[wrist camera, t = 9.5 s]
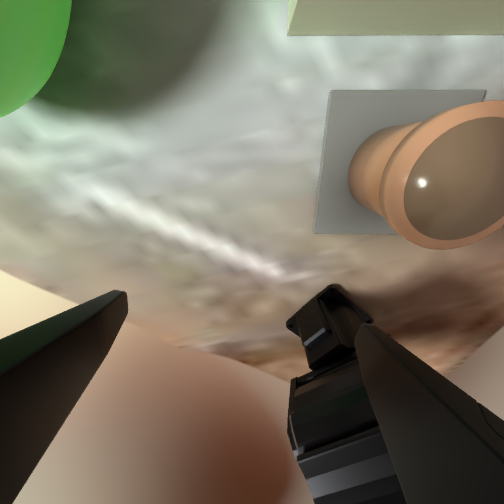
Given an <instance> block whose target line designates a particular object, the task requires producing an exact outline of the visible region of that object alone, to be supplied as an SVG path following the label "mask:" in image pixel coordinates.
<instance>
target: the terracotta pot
mask: <svg viewBox="0 0 504 504" xmlns="http://www.w3.org/2000/svg"><path fill="white" fill-rule="evenodd" d="M348 185H349V189H350V192H351V194H352V196H353V197H354V199H355V200H356V201H357V202H358V203H359V204H360V205H362V206H363V207H365V208H367V209H369V210H371V211H372V212H374V213H376V214H378V215H380V216H382V217H383V218H384V219H385V221H386V222H387V224H388V225H389V226H390V227H391V228H392V229H393V230H394V231H395V232H396V233H398V234H399V235H401V236H403V237H404V238H406V239H407V240H409V241H411V242H412V243H414V244H416V245H419V246H421V247H425V248H429V249H436V250H445V249H454V248H459V247H463V246H466V245H469V244H472V243H474V242H476V241H479V240H481V239H483V238H485V237H487V236H488V235H490V234H491V233H493V232H495V231H496V230H498V229H499V228H500V227H501V226H503V225H504V101H492V100H491V101H484V102H477V103H472V104H467V105H462V106H457V107H453V108H450V109H446V110H444V111H441V112H439V113H437V114H435V115H433V116H431V117H429V118H427V119H426V120H425V121H421V122H414V123H408V124H401V125H394V126H389V127H386V128H383V129H381V130H379V131H377V132H375V133H374V134H372V135H371V136H369V137H368V138H367V139H366V140H365V141H364V142H363V143H362V144H361V145H360V146H359V148H358V149H357V151H356V152H355V154H354V156H353V158H352V160H351V163H350V166H349V171H348Z"/></svg>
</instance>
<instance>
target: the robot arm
mask: <svg viewBox="0 0 504 504" xmlns="http://www.w3.org/2000/svg"><path fill="white" fill-rule="evenodd" d="M330 290H333V291H332V292H329V291H330ZM127 314H128V301H127V293H126V292H125V291H119V290H113V291H110V292H108V293H106V294H103V295H101V296H99V297H97V298H94V299H92V300H90V301H87V302H85V303H83V304H80V305H78V306H76V307H74V308H71V309H69V310H67V311H64V312H62V313H60V314H57V315H55V316H53V317H51V318H48V319H46V320H44V321H41V322H39V323H37V324H35V325H32V326H30V327H27V328H25V329H23V330H21V331H18V332H16V333H14V334H11V335H9V336H7V337H4V338H2V339H0V504H12V503H13V502H14V500H15V499H16V497H17V495H18V494H19V492H20V491H21V489H22V487H23V486H24V484H25V483H26V481H27V480H28V478H29V477H30V475H31V473H32V472H33V470H34V469H35V467H36V466H37V464H38V462H39V461H40V459H41V458H42V456H43V455H44V453H45V452H46V450H47V448H48V447H49V445H50V444H51V442H52V441H53V439H54V437H55V436H56V434H57V433H58V431H59V429H60V428H61V426H62V425H63V423H64V422H65V420H66V418H67V417H68V415H69V414H70V412H71V411H72V409H73V408H74V406H75V404H76V403H77V401H78V399H79V398H80V397H81V395H82V393H83V392H84V390H85V389H86V387H87V386H88V384H89V382H90V380H91V379H92V378H93V376H94V374H95V373H96V371H97V370H98V368H99V367H100V365H101V364H102V362H103V360H104V359H105V357H106V355H107V354H108V352H109V350H110V348H111V346H112V344H113V342H114V340H115V338H116V336H117V334H118V332H119V330H120V328H121V326H122V324H123V322H124V320H125V318H126V316H127ZM367 320H368V321H367ZM373 322H374V320H373V318H372V317H371V315H369V314H368V313H367V312H366V311H364V310H363V309H362V308H361V307H359V306H358V305H357V304H356V303H355V302H353V301H352V300H351V299H350V298H348V297H347V296H346V295H345V294H344V293H342V292H341V291H340V290H339V289H337V288H336V287H335V286H333V285H330V286H328V287H326V288H325V289H324V290H323V291H322V292H320V293H319V294H318V295H317V296H316V297H315V298H313V299H312V300H310V301H309V302H308V303H307V304H306V305H305V306H303V307H302V308H301V309H300V310H299V311H298V312H296V314H295V315H293V316H292V317H291V318H290V319H289V320H288V321H287V322H286V327H287V328H288V329H289V330H290V331H292V332H293V333H295V334H296V335H298V336H299V337H301V341H302V345H303V347H304V349H305V353H306V357H307V361H308V365H309V368H310V369H311V370H312V371H311V372H309V373H307V374H305V375H303V376H300V377H295V378H293V379H291V385H290V386H291V387H290V397H289V409H288V428H287V433H288V437H289V439H290V443H291V446H292V449H293V452H294V455H295V457H296V460H297V462H298V464H299V466H300V468H301V470H302V472H303V474H304V477H305V479H306V481H307V484H308V486H309V489H310V492H311V494H312V497H313V500H314V503H315V504H504V421H503V420H502V419H501V418H499V417H498V416H496V415H495V414H494V413H492V412H491V411H490V410H488V409H487V408H485V407H484V406H483V405H482V404H480V403H477V401H476V400H475V399H473V398H472V397H471V396H469V395H468V394H467V393H465V392H464V391H463V390H461V389H459V388H458V387H457V386H456V385H454V384H453V383H451V382H450V381H449V380H448V379H446V378H445V377H444V376H442V375H441V374H440V373H438V372H437V371H436V370H434V369H433V368H431V367H430V366H429V365H427V364H426V363H425V362H423V361H422V360H421V359H419V358H418V357H417V356H415V355H414V354H413V353H411V352H410V351H409V350H407V349H406V348H404V347H403V346H402V345H400V344H399V343H398V342H396V341H395V340H394V339H392V337H391V336H390V335H389V334H386V333H384V332H383V331H382V330H380V329H379V328H377V327H376V326H375V325H371V324H372V323H373ZM290 324H292V325H290Z"/></svg>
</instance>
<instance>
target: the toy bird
mask: <svg viewBox="0 0 504 504" xmlns="http://www.w3.org/2000/svg"><path fill="white" fill-rule="evenodd" d="M71 5H72V0H0V117H3V116H5V115H7V114H9V113H11V112H13V111H15V110H17V109H18V108H20V107H21V106H23V105H24V104H26V103H27V102H28V101H29V100H31V99H32V98H33V97H34V96H35V95H36V94H37V93H38V92H39V91H40V90H41V89H42V87H43V86H44V85H45V83H46V82H47V81H48V79H49V77H50V76H51V74H52V72H53V70H54V68H55V66H56V64H57V62H58V60H59V57H60V55H61V52H62V49H63V46H64V42H65V39H66V35H67V30H68V25H69V20H70V13H71Z"/></svg>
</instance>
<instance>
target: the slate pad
mask: <svg viewBox="0 0 504 504" xmlns="http://www.w3.org/2000/svg"><path fill="white" fill-rule="evenodd" d="M485 91H486V90H332V91H330V92H329V98H328V106H327V115H326V123H325V132H324V140H323V149H322V157H321V165H320V174H319V182H318V191H317V199H316V208H315V216H314V225H313V232H314V234H398V233H396V232H395V231H394V230H393V229H392V228H391V227H390V226H389V225H388V224H387V222H386V221H385V219H384V218H383V217H382V216H380V215H378V214H376V213H374V212H372V211H371V210H369V209H367V208H365V207H363V206H362V205H360V204H359V203H358V202H357V201H356V200H355V199H354V197H353V196H352V194H351V192H350V189H349V185H348V171H349V166H350V163H351V160H352V158H353V156H354V154H355V152H356V151H357V149H358V148H359V146H360V145H361V144H362V143H363V142H364V141H365V140H366V139H367V138H368V137H369V136H371V135H372V134H374V133H375V132H377V131H379V130H381V129H383V128H386V127H389V126H394V125H401V124H408V123H414V122H421V121H425V120H426V119H427V118H429V117H431V116H433V115H435V114H437V113H439V112H441V111H444V110H446V109H450V108H453V107H457V106H462V105H467V104H472V103H477V102H482V99H483V97H484V94H485Z"/></svg>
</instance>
